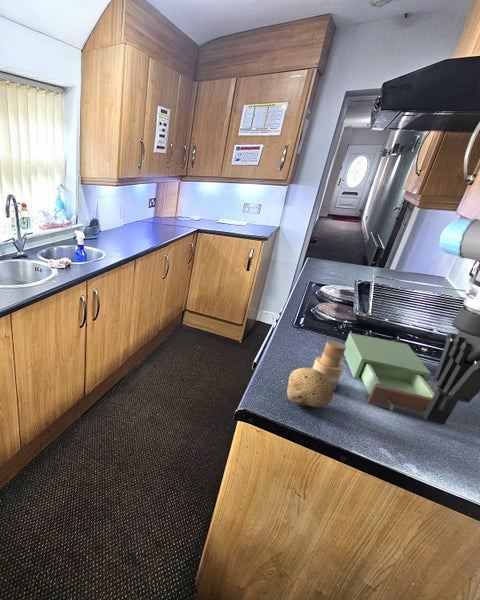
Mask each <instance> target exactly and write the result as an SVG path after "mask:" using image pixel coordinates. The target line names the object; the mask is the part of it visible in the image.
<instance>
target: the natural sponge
mask: <svg viewBox="0 0 480 600" xmlns="http://www.w3.org/2000/svg"><path fill="white" fill-rule="evenodd" d="M286 388H287V389H286V396H287V399H288V401H290V402H291V403H294V404H295V405H298V406H300V407H312V408H322V407H325V406H328V405H329V404H330V403H331V402H332V400H333V397H334V392H333V391H332V389H331V386H330V383H329V381H328V379H327V378H326V377H325V376H324V375H323V374H322V373H321V372H319V371H318V370H315V369H313V367H300V368H296V369H294V370H292V371H291V372H290V374H289V376H288V382H287V387H286Z"/></svg>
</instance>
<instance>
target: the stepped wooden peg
mask: <svg viewBox="0 0 480 600" xmlns="http://www.w3.org/2000/svg"><path fill="white" fill-rule="evenodd" d="M345 349H346V346H345V344H344V343H342V342H340V341H336V340H327V341H326V343H325V346H324V348H323V351H322V355H321V356H317V357H315V360H314V363H313V366H312V369H315V370H318V371H319V372H321V373H322V374H323V375H324V376H325V377H326V378H327V379H328V381H329V383H330V386H331V389H332V392H333V391H335V390H336V389H337V386H338V384H339V382H340V379H341V377H342V373H343V371H344V369H345V367H344V366H345V365H344V364H343V363H342V359H343V356H344V352H345Z"/></svg>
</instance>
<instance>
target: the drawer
mask: <svg viewBox="0 0 480 600" xmlns="http://www.w3.org/2000/svg"><path fill="white" fill-rule="evenodd" d="M360 375H361V377H362V379H363V380H362V382H363V384H364V386H365V389H366V390H367V393H368V397H367V403H368V404H370V405H374V406H378V407H381V408H385V409H389V411H390V412H393V413H396V414H400V415H404V416H408V417H411V418H415V419H418V420H422V421H426V422H428V423H429V422H430V423H432V422H431V421H427V420H425V418H424V416H423V414H424V413H425V411H426V409H427V407H428V405H429V403H430V401H431V400H432V398H433V396H434V394H435V392H434V391H433V389H432V388H431V387H430V385H429V384H428V382H426V381H425V380H424V379H423V377H422V376H421V375H420V374H417V373H412V372H408V371H403V370H399V369H394V368H390V367H385V366H381V365H376V364H372V363H367V362H365V363H364V365H363V368H362V370H361V372H360Z"/></svg>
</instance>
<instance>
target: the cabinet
mask: <svg viewBox="0 0 480 600" xmlns="http://www.w3.org/2000/svg"><path fill="white" fill-rule="evenodd" d="M344 345H345V346H346V349H345V352H344V354H343V356H344V358H345V360H346V363H347V366H348V369H349V370H350V372H351V375H352V377H353V379H355V380H360V381H363V379H362V377H361V375H360V372H361V370H362V368H363V365H364V363H365V362H367V363H372V364H376V365H381V366H385V367H390V368H394V369H399V370H403V371H408V372H412V373H417V374H420V375H421V376H422V377H423V379H424V380H425V381H426V383H428V380H429V378H430V376H431V374H432V373H431V372H430V370H429V368H427V367H426V365H425V364H424V362H422V360H421V359H420V358H419V356H418V355H417V353H415V351H414V350H413V349H412V348H411V346H410V345H409V344H408V343H404V342H399V341H394V340H388V339H383V338H378V337H373V336H368V335H362V334H358V333H353V332H349V333H348V336H347V338H346V340H345V344H344Z"/></svg>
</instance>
